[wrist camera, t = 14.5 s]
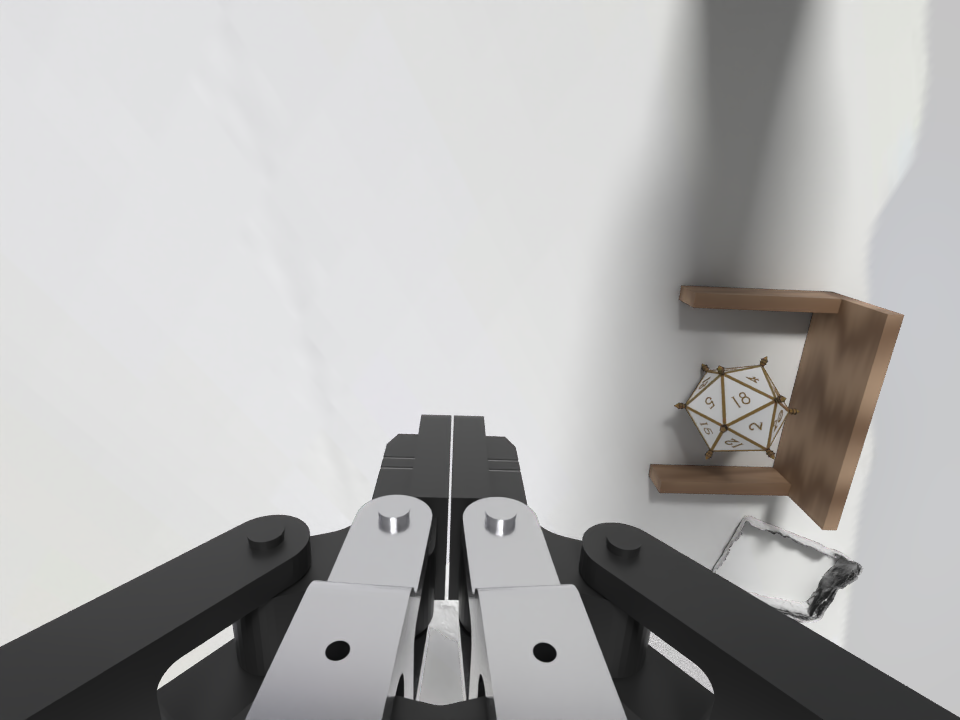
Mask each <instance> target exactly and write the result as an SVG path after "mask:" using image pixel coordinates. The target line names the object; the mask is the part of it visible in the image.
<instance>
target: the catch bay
mask: <svg viewBox="0 0 960 720" xmlns="http://www.w3.org/2000/svg"><path fill="white" fill-rule="evenodd" d="M679 300H681V301H682V302H684V303H686V304H688V305H689V306H691V307H693V308H713V309H738V310H763V311H788V312H813V314H812V318H811V322H810V326H809V330H808V334H807V338H806V341H805V345H804V349H803V353H802V357H801V361H800V365H799V369H798V373H797V376H796V380H795V384H794V388H793V392H792V396H791V400H790V404H789V408H788V409H791V408H792V409H794V408H796V409H797V410H798V411H800V412H799V413H797V414H796V415H794V414H792V415H791V414H790V413H788V415H787V417H786V419H785V423H784V427H783V431H782V435H781V439H780V443H779V447H778V450H777V454H776V458H775V462H774V466H773V467H738V466H699V465H659V464H650V470H649V477H650V478H651V480H652V482H653V483H654V485H655V486H656V488H657V490H658V491H659V493H688V494H732V495H776V496H789V497H790V498H791V499H792V500H793V501H794V502H795V503H796V504H797V505H798V506H799V507H800V508H801V509H802V510H803V511H804V512H805V513H806V514H807V515H808V516H809V517H810V518H811V519H812V520H813V521H814V522H815V523H816V524H817V525H818V526H819V527H820V528H821V529H822V530H837V527H838V524H839V521H840V518H841V515H842V511H843V508H844V505H845V502H846V499H847V496H848V492H849V489H850V486H851V483H852V480H853V476H854V473H855V470H856V467H857V464H858V461H859V457H860V454H861V451H862V448H863V445H864V441H865V438H866V435H867V432H868V429H869V426H870V422H871V419H872V416H873V413H874V410H875V406H876V403H877V400H878V397H879V394H880V391H881V387H882V384H883V381H884V378H885V375H886V371H887V368H888V365H889V362H890V359H891V355H892V352H893V349H894V346H895V343H896V340H897V336H898V333H899V330H900V327H901V324H902V320H903V317H904V315H902V314H899V313H896V312H893V311H890V310H887V309H884V308H881V307H877V306H875V305H871V304H868V303H865V302H862V301H859V300H856V299H853V298H850V297H847V296H844V295H840V294H837V293H834V292H826V291H802V290H778V289H753V288H729V287H705V286H681V290H680V296H679Z"/></svg>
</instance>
